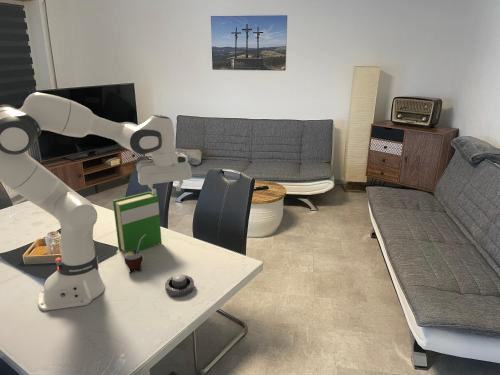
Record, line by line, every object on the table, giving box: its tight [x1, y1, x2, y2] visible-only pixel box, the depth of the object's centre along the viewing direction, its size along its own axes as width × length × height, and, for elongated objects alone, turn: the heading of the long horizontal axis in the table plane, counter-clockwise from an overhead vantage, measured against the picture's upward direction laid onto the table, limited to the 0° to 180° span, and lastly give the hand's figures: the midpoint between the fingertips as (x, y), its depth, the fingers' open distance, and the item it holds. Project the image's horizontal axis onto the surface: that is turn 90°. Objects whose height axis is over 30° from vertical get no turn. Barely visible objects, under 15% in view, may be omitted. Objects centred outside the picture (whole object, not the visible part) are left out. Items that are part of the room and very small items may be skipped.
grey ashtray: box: [164, 274, 195, 298], centre depth 144 cm, size 10×10×3 cm
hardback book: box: [112, 190, 163, 255], centre depth 171 cm, size 18×7×24 cm, turn 131°
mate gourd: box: [124, 234, 146, 274], centre depth 154 cm, size 8×8×15 cm
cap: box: [171, 273, 187, 289], centre depth 143 cm, size 6×6×4 cm
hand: (166, 192), depth 148 cm, fingers open, 8 cm apart
